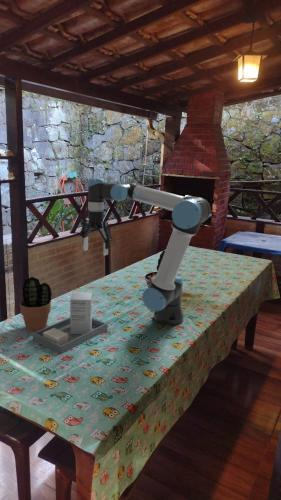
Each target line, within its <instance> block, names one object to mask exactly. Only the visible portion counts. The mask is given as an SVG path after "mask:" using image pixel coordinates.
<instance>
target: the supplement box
mask: <svg viewBox="0 0 281 500" xmlns="http://www.w3.org/2000/svg"><path fill="white" fill-rule="evenodd" d="M69 307H70V308H69V313H70V315H69V317H70V334H85V333H87V332H89V331H91V328H92V318H93V292H89V291H88V292H87V291H84V292H83V291H73V292H72V293H71V296H70V299H69Z"/></svg>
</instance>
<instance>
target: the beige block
mask: <svg viewBox="0 0 281 500" xmlns="http://www.w3.org/2000/svg"><path fill="white" fill-rule="evenodd" d="M43 337H44V338H47V339H49V340H51V341H53V342H55V343H57V344H59V345H63V344H65V343H67V342H68V334H67V333H65V332H62V331H60V330H58V329H56V328H53V329H50V330H48V331H46V332H43Z"/></svg>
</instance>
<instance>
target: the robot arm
mask: <svg viewBox="0 0 281 500" xmlns="http://www.w3.org/2000/svg"><path fill="white" fill-rule="evenodd" d="M87 190H88V191H87V192H88V193H87V194H88V197H87V198H88V200H87V201H88V203H87V206H88V207H87V210H88V212H87V217H86V218H84V219H83V224H82V227H81V229H80V231H79V236H80V237H81V239H82V246H83V251H88V250H89V237H88V236H89V234H90V233H91V232H92V230H97V232H99V234H100V237H102V239H103V241H104V242H103V251H102V252H103V256H108V255H109V250H110V242H113V241H114V239H113V236H112V234H111V231H110V228H109V222H108V221H103V220H104V217H105V215H104V214H105V213H104V209H105V207H104V206H105V205H104V204H105V201H104V200H110V201H111V200H112V201H115V202H116V201H117V202H119V201H121V202H122V201H123V202H124V200H126V199H128V200H132V201H136V202H140V203H144V204H147V205H150V206H154V207H159V208H161V209H166V210H169V211H171V212H172V213H171V219H172V222H171V228H172V232H171V235H170V238H169V240H168V243H167V245H166V248H165V250H164V253H163V256H162V258H161V262H160V264H159V267H158V270H157V271H156V272H157V273H156V275H154V276H152V277H151V279H150V282H149V284H148V287H147V288H145V289H144V290H143V293H142V295H141V300H142V302H143V304H144V306H145V307H146V308H147V309H148V310H150V311H151V312H154V313H153V320H155V322H157V323H158V324H159V323H160V324H161V325H169V326H170V325H171V326H174V325H178V324H181V323H183V321H184V312H183V308H182V299H183V298H182V296H183V284H184V283H183V281H184V280H183V276H180V275H178V273H179V270H180V268H181V265H182V262H183V260H184V257H185V255H186V252H187V249H188V247H189V244H190V242H191V239H192V237H194V236H196V235H197V234H198V232H199V229H200V226H201V224H202V223H205V221H207V220H208V219H209V217H210V215H211V211H212V210H211V205H210V203H209V202H208V200H207V199H205V198H203V197H200V196H199V197H198V196H192V195H188V194H187V195H185V196H183V195H178V194H175V193H171V192H167V191H163V190H160V189H154V188H151V187H146V186H142V185H138V184H136V183H134V182H131V181H129V182H119V183H108V182H107V183H106V182H105V179H104V178H102V177H90V178H89V179H88V186H87Z"/></svg>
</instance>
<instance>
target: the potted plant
mask: <svg viewBox="0 0 281 500" xmlns="http://www.w3.org/2000/svg"><path fill="white" fill-rule="evenodd" d="M51 289H52V288H51V286H50V285H49V284H48V283H46V282H43V283H40V280H39V278H37V277H33V276H31V277H29V278H26V279H25V280H24V283H23V285H22V300H21V301H20V302H19V309H20V311H19V312H20V315H21V316H22V317H23V321H24V325H25V329H26V330H28V331H31V332H37V331H39V330H41V329H44V328H46V327H48V321H49V320H48V319H49V315H50V313H51V311H52V310H51V307H52V305H51V303H52V294H53V293H52V290H51Z"/></svg>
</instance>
